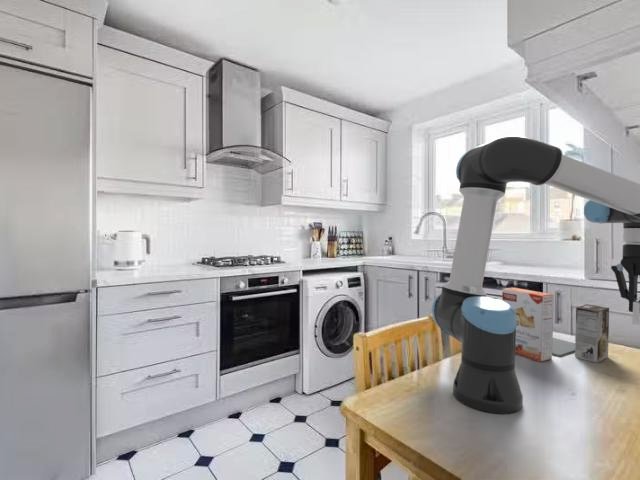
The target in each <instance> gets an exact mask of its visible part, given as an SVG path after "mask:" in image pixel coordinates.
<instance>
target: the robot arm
mask: <svg viewBox="0 0 640 480" xmlns="http://www.w3.org/2000/svg"><path fill="white" fill-rule="evenodd" d="M456 165H457V166H456V169H455V170H456V171H455V174H456V179H457V180H458V181H459V183H460V184H459V190H458V191H459V192H460V194H461V195H462V197H463V200H462V207H461V212H460V218H459V224H458V229H457V234H456V235H457V236H456V241H455V246H454V251H453V252H454V253H453V256H452V262H451V268H450V275H449V280H448V281H446V282H445V283H444V284H442V286H441V292H440V294H439V295H438V296H436V298H435V299H434V301H433V303H432V305H431V306H432V307H431V316H432V319H433V321H434V323H435V324H436V326H438V328H439V329H440V330H441V331H442V332H443V333H445V334H446V335H448V336H451V337H452V338H453V339H455V340H457V341H459V342H460V343H461V351H460V352H461V360H460V365H459V367H458V370H457V373H456V375H455V377H454V379H453V384H452V385H453V386H452V387H453V388H452V393H453V396H454V397H455V399H456V400H458V401H459V402H460V403H462V404H463V405H466V406H467V407H470V408H473V409H475V410H478V411H482V412H487V413H492V414H502V415H503V414H513V413H516V412H519V411H521V409H522V408H523V405H524V404H523V401H524V399H523V398H524V397H523V393H522V391H521V386H520V384H519V383H520V382H519V379H518V377H517V374H516V369H515V367H516V366H515V365H516V353H515V341H516V327H517V323H516V314H515V310H514V309H513V307H512V306H511V305H509V304H508V303H506V302H503V301H502V300H500V299H496V298H493V297H488V294H487V292H486V290H485V289H484V288H483V283H484V278H485V274H486V273H485V271H486V266H487V260H488V256H489V250H490V245H491V244H490V243H491V238H492V231H493V227H494V221H495V217H496V216H495V215H496V210H497V203H498V201H499V200H500V199H502V198H503V197H505V195H506V189H507V185H508V183H514V182H515V183H516V182H518V183H519V182H521V183H522V182H523V183H528V184H532V185H533V186H534V185H535V186H544V185H548V186H550V187H553V188H555V189H559V190H561V191H564V192H567V193H569V194H572V195H575V196H578V197H581V198H583V199H585V200H587V201H586V202H585V204H584V206H583V215H584V217H585V219H586V220H587V221H588V222H589V223H592V224H593V223H594V224H599V225H600V224H623V225H622V228H623V230H622V231H623V234H622V242H623V243H624V244H623V245H622V259H621V260H620V263H617V264H616V265H611V266H610V269H611V270H612V271H613V272H614V274H615V278H616V282H617V286H618V287H617V288H618V290H619V291H618V292H619V294H620V297H621V298H622V299H625V300H628V312H630V313H632V325H637V326H640V300H639V298H638V278H639V276H640V183H638V182H635V181H633V180H631V179H628V178H625V177H622V176H619V175H617V174H614V173H612V172H609V171H607V170H604V169H602V168H599V167H597V166H593V165H591V164H588V163H586V162H583V161H581V160H578V159H575V158H573V157H570V156H567V155H564V153H563V150H562V149H561V148H559V147H557V146H554V145H552V144H549V143H546V142H544V141H540V140H539V139H537V140H536V139H534V138H529V137H525V136H521V135H520V136H519V135H504V136H503V135H502V136H499V137H496V138H494V139H492V140H490V141H488V142H486V143H484V144H480V145H477V146H474V147H472V148H471V149H469V150H468V151H466V152H465V153H463V154H462V156H461V157H460V158H459V160H458V162H457V164H456ZM624 270H625V271H626V272H627V274H628V277H627V278H628V285H627V281H626V277H625V274H624Z"/></svg>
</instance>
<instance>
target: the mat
mask: <svg viewBox="0 0 640 480" xmlns="http://www.w3.org/2000/svg"><path fill="white" fill-rule="evenodd" d="M572 353H575V342H571V341H567V340H564V339H560V338H555V337H552V356H555V357H558V358H561V357H564V356H566V355H570V354H572Z"/></svg>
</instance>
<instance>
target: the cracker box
mask: <svg viewBox="0 0 640 480" xmlns="http://www.w3.org/2000/svg"><path fill="white" fill-rule="evenodd" d="M501 294H502V300H501V301H503V302H506V303H508V304H509V305H511V306H512V307H513V309H514V310H515V314H516V323H517V327H516V341H515V354H517V355H519V356H523V357H526V358H528V359H531V360H535V361H537V362H539V363H541V362H545V361H546V362H547V361H549V360H553V355H552V338H554V337H553V336H554V335H553V333H554V331H553V330H554V294H553V293H552V294H551V293H545V292H541V291H535V290H529V289H525V288H518V287H504V288H502V293H501Z"/></svg>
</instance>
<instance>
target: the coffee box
mask: <svg viewBox="0 0 640 480" xmlns="http://www.w3.org/2000/svg"><path fill="white" fill-rule="evenodd" d="M609 323H610V307H606V306H600V305H596V304H595V305H594V304H587V303H586V304H583V305H580V306H577V307H576V308H575V336H574V337H575V341H574V343H575V352H574V357H575V358H577V359H580V360H581V359H582V360H585V361H589V362H594V363H597V364H598V363H599V362H602V361H604V359H606V358H608V357H609V337H610V336H609V334H610V332H609V331H610V330H609V327H610V324H609Z"/></svg>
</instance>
